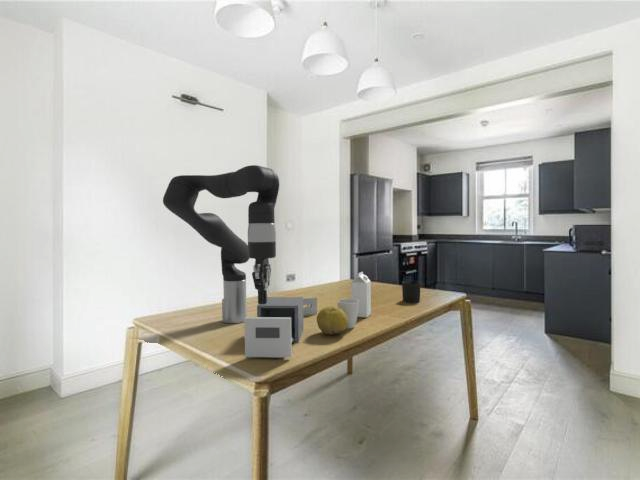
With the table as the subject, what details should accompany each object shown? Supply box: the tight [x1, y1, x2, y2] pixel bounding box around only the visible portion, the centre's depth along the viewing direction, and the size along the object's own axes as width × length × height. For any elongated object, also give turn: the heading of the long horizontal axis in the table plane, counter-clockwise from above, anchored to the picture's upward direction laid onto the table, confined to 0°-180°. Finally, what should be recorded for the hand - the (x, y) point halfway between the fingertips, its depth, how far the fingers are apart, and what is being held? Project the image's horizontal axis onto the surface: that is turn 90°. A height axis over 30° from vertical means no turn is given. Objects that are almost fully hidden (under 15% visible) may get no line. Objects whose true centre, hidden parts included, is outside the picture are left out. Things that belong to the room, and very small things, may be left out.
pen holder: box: [401, 280, 421, 303], centre depth 185 cm, size 9×9×10 cm
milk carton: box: [350, 271, 372, 318], centre depth 155 cm, size 7×7×19 cm
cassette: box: [303, 296, 318, 317], centre depth 157 cm, size 12×2×8 cm, turn 113°
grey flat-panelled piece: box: [243, 316, 293, 358], centre depth 110 cm, size 14×15×11 cm
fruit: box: [316, 305, 348, 335], centre depth 128 cm, size 11×12×10 cm
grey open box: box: [256, 296, 304, 343], centre depth 127 cm, size 14×15×12 cm
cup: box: [337, 298, 358, 329], centre depth 137 cm, size 8×8×10 cm
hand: (262, 303), depth 97 cm, fingers closed
